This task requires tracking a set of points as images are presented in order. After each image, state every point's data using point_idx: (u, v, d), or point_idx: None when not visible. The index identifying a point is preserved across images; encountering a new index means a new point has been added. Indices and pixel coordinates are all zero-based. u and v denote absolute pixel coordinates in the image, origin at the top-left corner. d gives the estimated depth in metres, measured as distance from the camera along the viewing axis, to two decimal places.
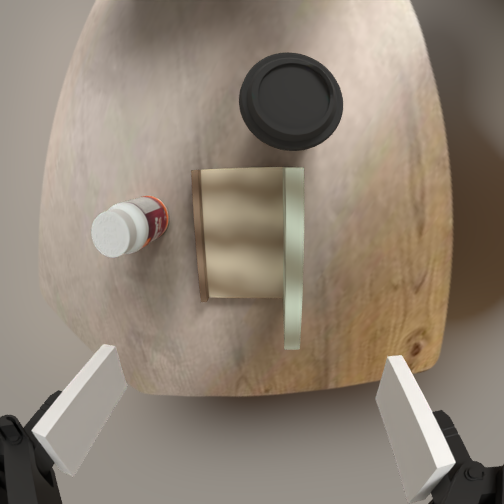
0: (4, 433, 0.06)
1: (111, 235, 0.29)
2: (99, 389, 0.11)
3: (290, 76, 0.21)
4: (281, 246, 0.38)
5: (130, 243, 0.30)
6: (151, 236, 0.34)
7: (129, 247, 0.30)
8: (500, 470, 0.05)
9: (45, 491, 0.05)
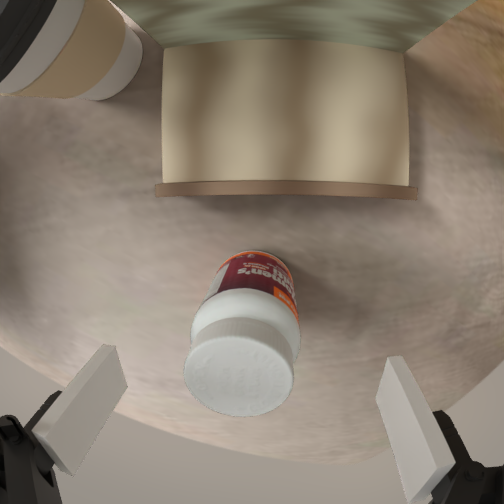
0: (4, 433, 0.06)
1: (238, 378, 0.13)
2: (99, 389, 0.11)
3: None
4: (306, 42, 0.16)
5: (259, 338, 0.12)
6: (271, 284, 0.17)
7: (272, 340, 0.13)
8: (500, 470, 0.05)
9: (45, 491, 0.05)
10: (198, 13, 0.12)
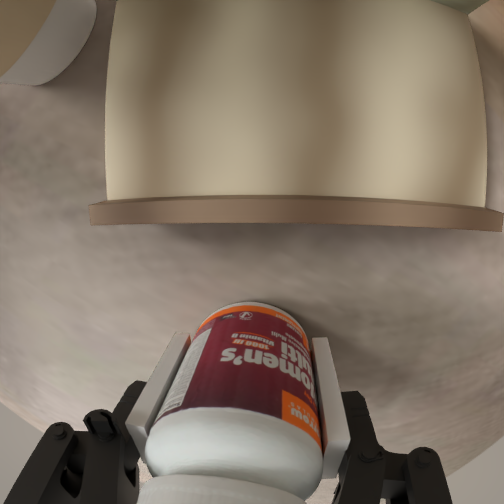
0: (93, 427, 0.08)
1: None
2: None
3: None
4: None
5: None
6: (278, 387, 0.09)
7: None
8: (405, 463, 0.07)
9: (127, 493, 0.06)
10: None
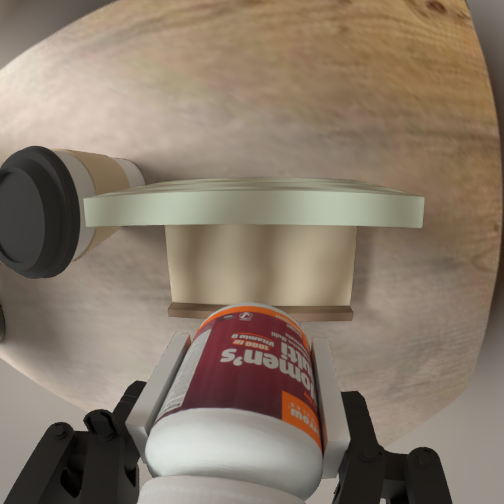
0: (93, 427, 0.08)
1: None
2: None
3: (0, 222, 0.14)
4: None
5: None
6: (278, 388, 0.09)
7: None
8: (405, 462, 0.07)
9: (126, 493, 0.06)
10: None
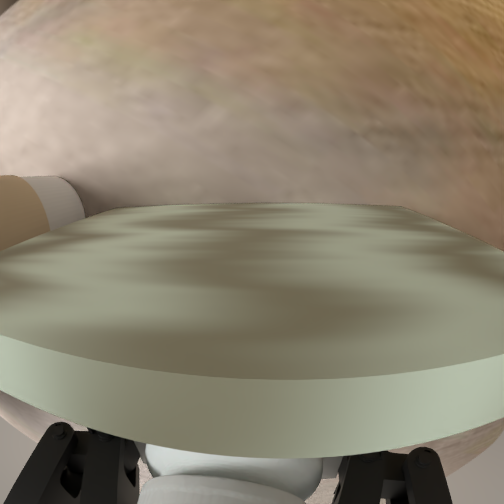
0: None
1: None
2: None
3: None
4: None
5: None
6: None
7: None
8: (405, 462, 0.07)
9: (126, 493, 0.06)
10: None
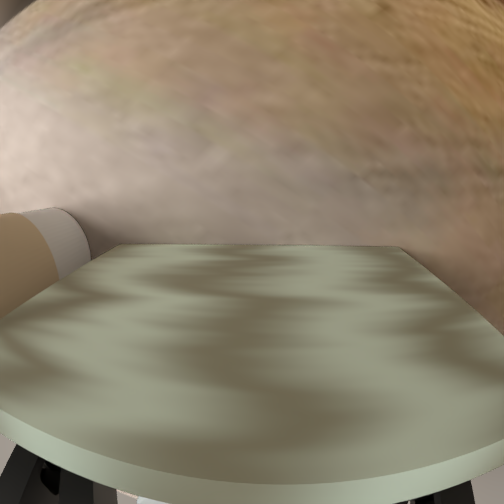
0: None
1: None
2: None
3: None
4: None
5: None
6: None
7: None
8: None
9: (103, 491, 0.06)
10: None
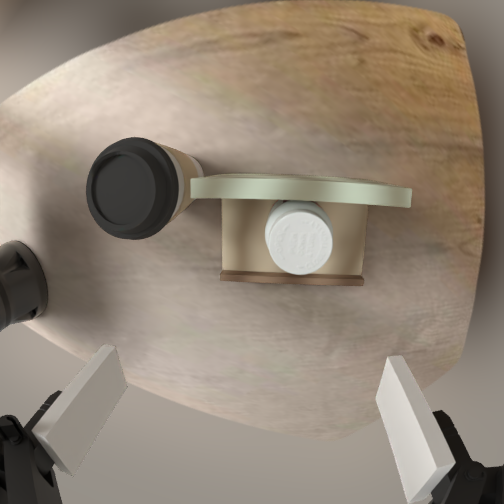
0: (4, 433, 0.06)
1: (301, 241, 0.23)
2: (99, 389, 0.11)
3: (103, 193, 0.23)
4: None
5: (314, 214, 0.23)
6: (314, 202, 0.27)
7: (321, 218, 0.23)
8: (500, 470, 0.05)
9: (45, 491, 0.05)
10: None
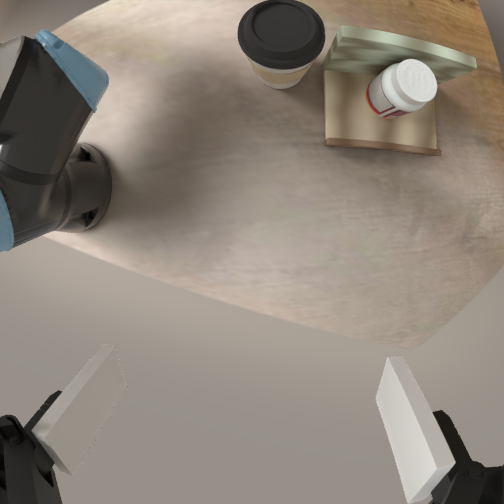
0: (4, 433, 0.06)
1: (418, 77, 0.24)
2: (99, 389, 0.11)
3: (263, 26, 0.23)
4: None
5: (422, 63, 0.23)
6: None
7: None
8: (500, 470, 0.05)
9: (45, 491, 0.05)
10: (358, 62, 0.29)
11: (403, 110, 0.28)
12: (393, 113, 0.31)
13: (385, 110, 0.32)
